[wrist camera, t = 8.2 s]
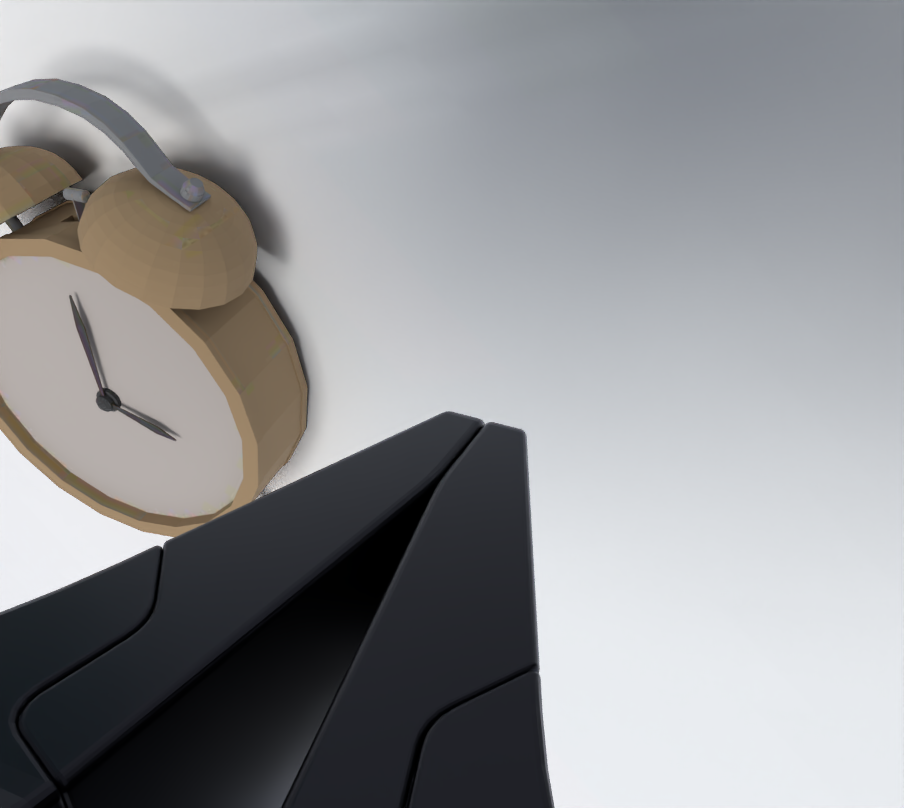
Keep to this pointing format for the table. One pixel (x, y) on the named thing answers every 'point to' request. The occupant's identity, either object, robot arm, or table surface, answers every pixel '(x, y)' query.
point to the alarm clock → (139, 332)
